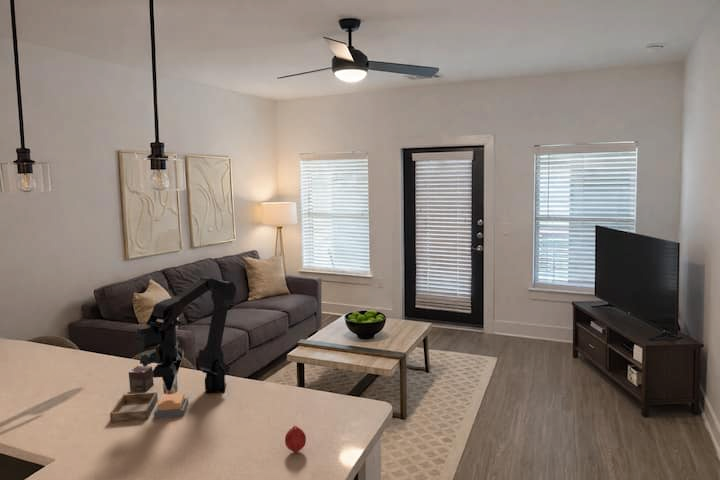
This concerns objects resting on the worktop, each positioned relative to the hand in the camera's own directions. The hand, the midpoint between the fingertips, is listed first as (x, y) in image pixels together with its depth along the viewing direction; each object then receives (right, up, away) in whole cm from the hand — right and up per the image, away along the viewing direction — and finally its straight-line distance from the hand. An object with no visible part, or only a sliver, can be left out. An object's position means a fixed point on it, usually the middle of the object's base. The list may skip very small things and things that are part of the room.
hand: (170, 387), depth 167 cm
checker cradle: (0, -8, +1) cm, 8 cm away
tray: (-12, -8, +1) cm, 15 cm away
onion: (+44, -11, -25) cm, 52 cm away
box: (-17, -6, +19) cm, 26 cm away
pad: (0, -6, +1) cm, 6 cm away
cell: (0, -2, 0) cm, 2 cm away
